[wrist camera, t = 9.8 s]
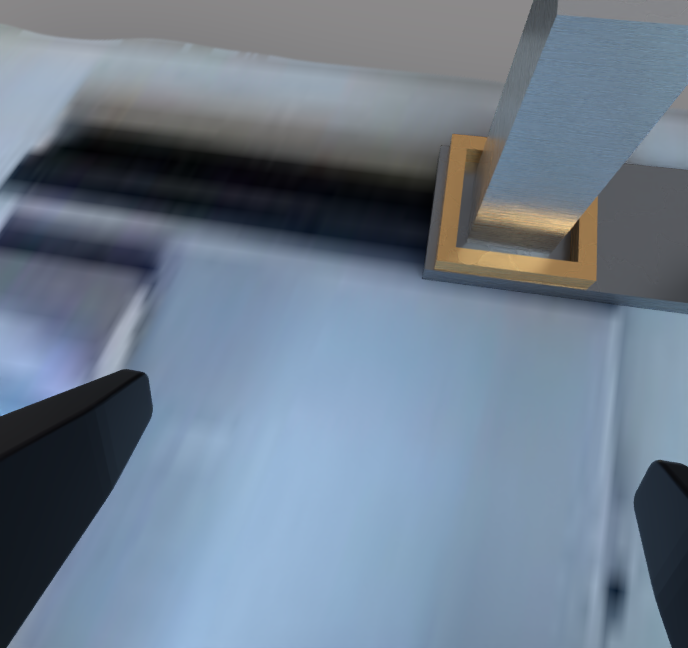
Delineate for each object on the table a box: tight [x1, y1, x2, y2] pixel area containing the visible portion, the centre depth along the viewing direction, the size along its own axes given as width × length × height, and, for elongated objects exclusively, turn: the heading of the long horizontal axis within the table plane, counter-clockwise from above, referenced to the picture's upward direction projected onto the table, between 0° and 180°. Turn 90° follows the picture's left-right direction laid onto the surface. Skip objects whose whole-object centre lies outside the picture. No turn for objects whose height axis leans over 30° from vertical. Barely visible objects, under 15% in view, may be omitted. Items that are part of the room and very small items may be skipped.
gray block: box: [466, 0, 688, 254], centre depth 17 cm, size 4×4×12 cm
